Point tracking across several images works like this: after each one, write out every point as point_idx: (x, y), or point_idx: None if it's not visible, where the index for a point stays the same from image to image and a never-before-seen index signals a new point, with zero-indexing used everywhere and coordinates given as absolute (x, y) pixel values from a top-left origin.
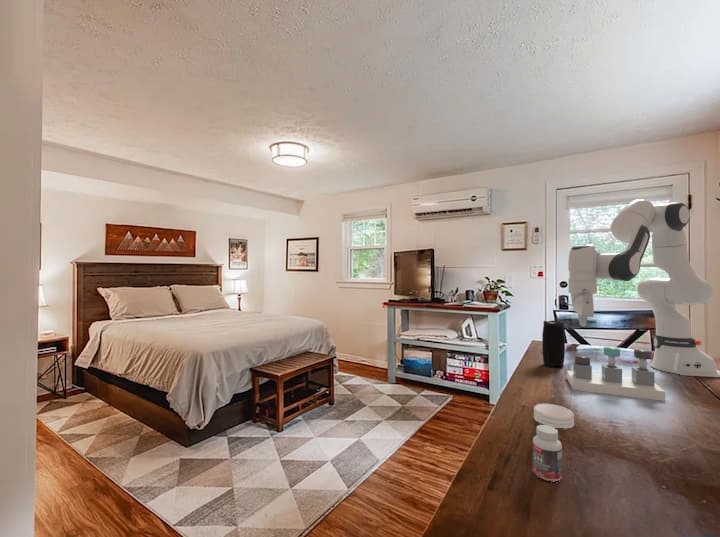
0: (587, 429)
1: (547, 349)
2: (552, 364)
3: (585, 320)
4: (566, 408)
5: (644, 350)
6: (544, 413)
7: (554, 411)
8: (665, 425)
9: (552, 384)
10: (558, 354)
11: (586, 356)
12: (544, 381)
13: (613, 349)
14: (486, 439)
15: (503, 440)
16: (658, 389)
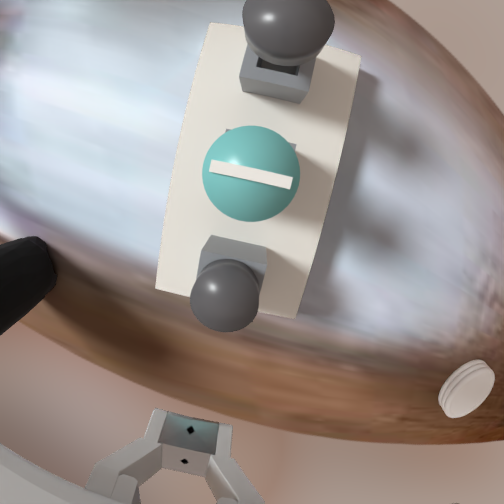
0: (493, 343)
1: (21, 316)
2: (52, 281)
3: (242, 477)
4: (473, 378)
5: (279, 3)
6: (477, 406)
7: (475, 394)
8: (497, 194)
9: (248, 344)
10: (32, 279)
11: (211, 279)
12: (221, 356)
13: (291, 181)
14: (475, 440)
15: (482, 428)
16: (343, 62)
